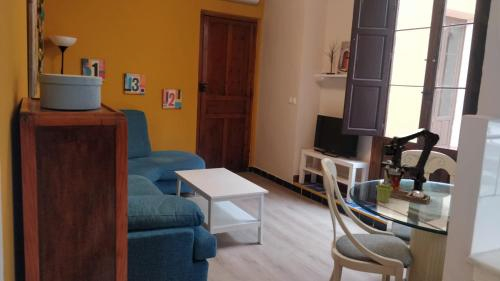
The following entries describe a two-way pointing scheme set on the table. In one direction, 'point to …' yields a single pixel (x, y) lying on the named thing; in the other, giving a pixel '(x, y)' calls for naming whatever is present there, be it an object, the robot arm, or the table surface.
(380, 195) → the plant pot
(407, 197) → the rack
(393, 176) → the soda can
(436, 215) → the table surface
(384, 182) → the coffee box
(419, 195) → the tin
